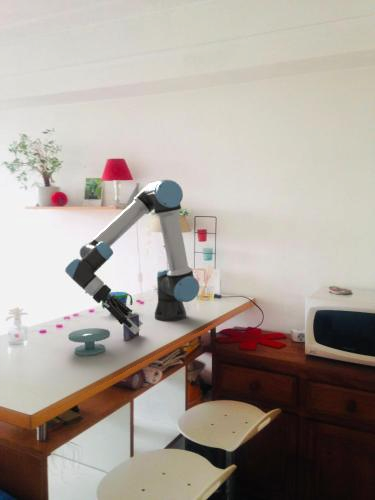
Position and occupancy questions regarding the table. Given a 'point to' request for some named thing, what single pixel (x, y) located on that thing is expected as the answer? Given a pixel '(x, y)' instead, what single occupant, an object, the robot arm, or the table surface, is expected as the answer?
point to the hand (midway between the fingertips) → (139, 328)
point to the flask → (126, 331)
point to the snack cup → (120, 297)
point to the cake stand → (89, 340)
